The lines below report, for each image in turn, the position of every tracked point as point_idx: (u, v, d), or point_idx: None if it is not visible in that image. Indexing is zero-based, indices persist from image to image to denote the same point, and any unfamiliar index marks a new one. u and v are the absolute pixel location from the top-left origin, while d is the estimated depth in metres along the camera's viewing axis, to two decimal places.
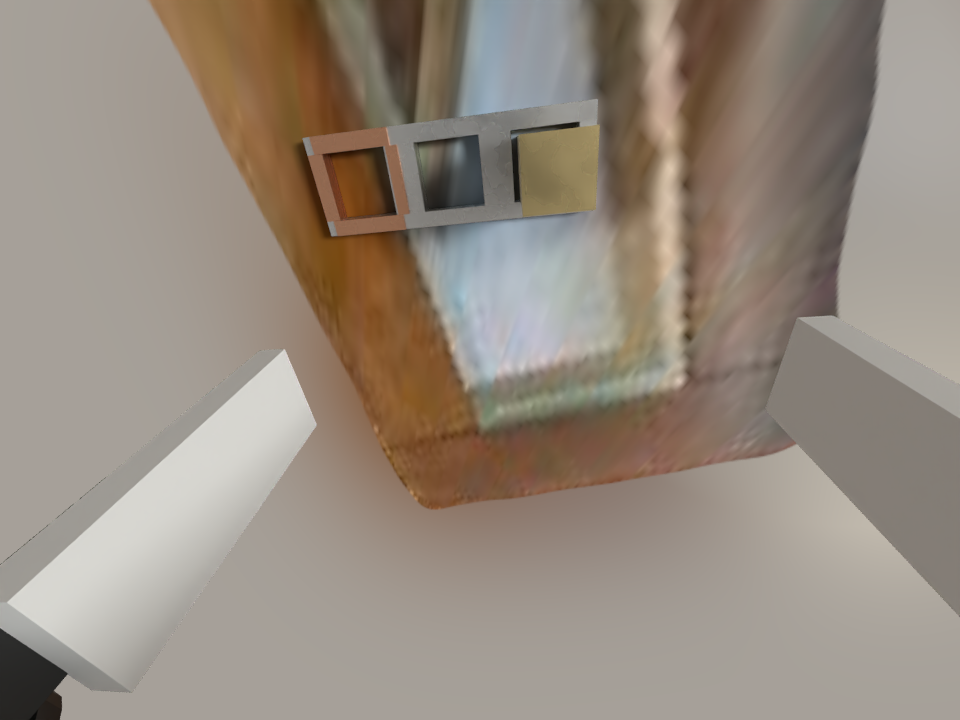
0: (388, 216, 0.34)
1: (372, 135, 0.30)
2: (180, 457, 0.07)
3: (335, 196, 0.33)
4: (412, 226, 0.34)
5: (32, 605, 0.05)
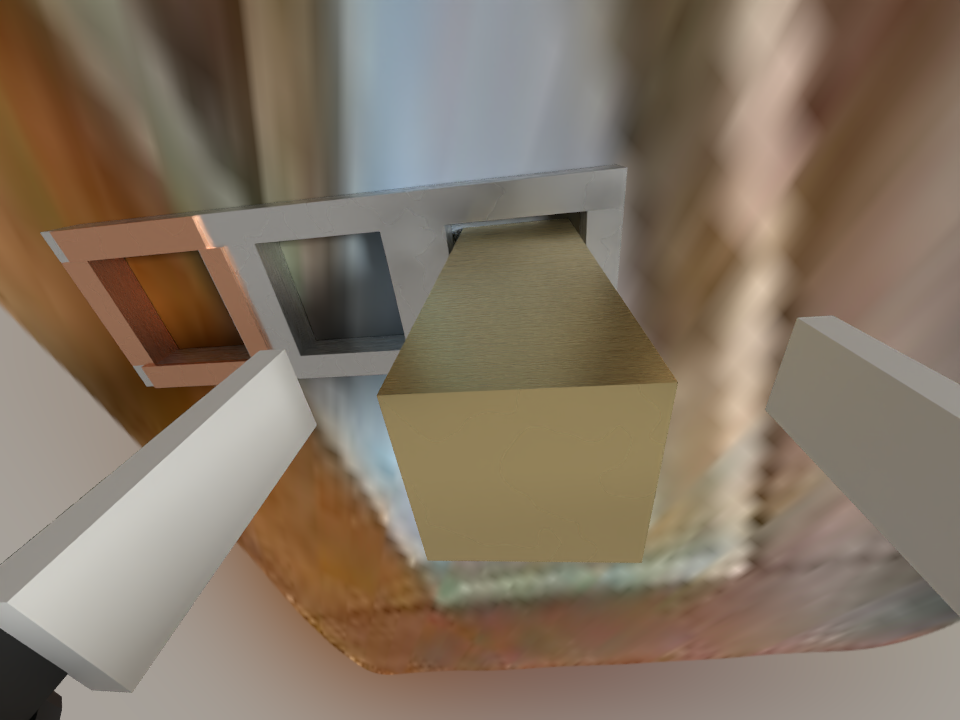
0: (236, 361, 0.18)
1: (170, 231, 0.15)
2: (180, 457, 0.07)
3: (138, 326, 0.18)
4: None
5: (32, 605, 0.05)
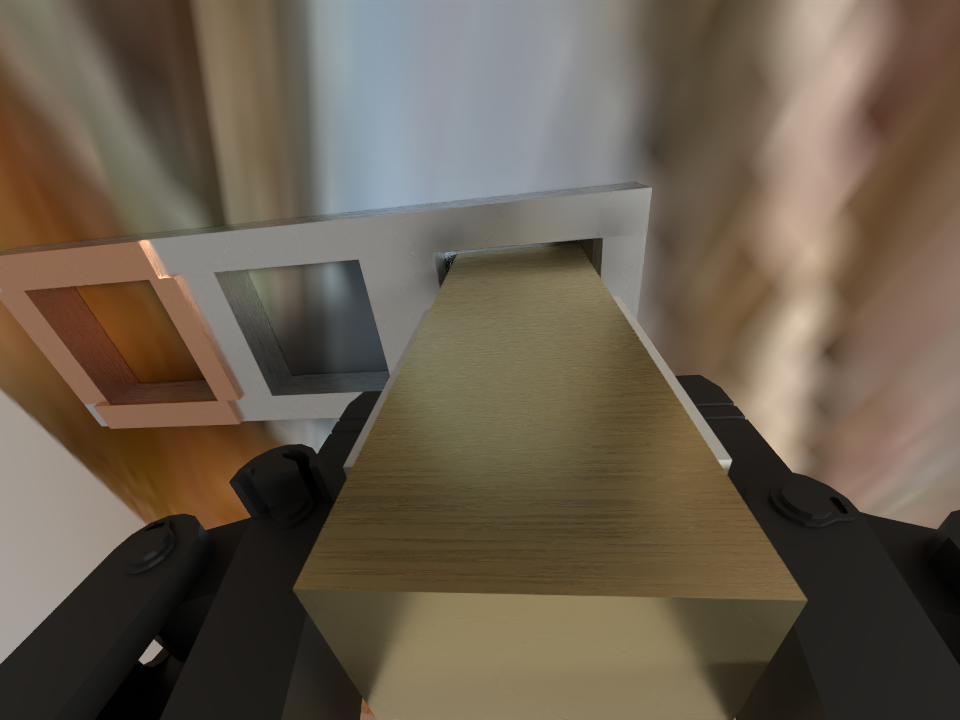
0: (199, 401, 0.16)
1: (114, 258, 0.13)
2: None
3: (89, 361, 0.16)
4: (252, 418, 0.17)
5: None
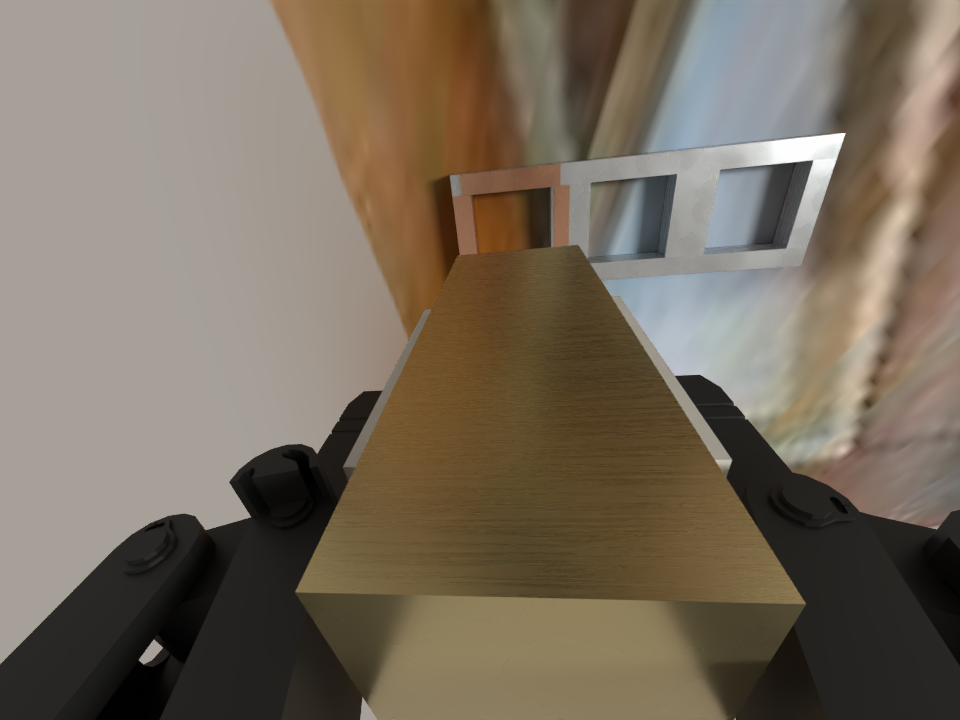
0: None
1: (541, 173, 0.24)
2: None
3: (476, 243, 0.27)
4: None
5: None
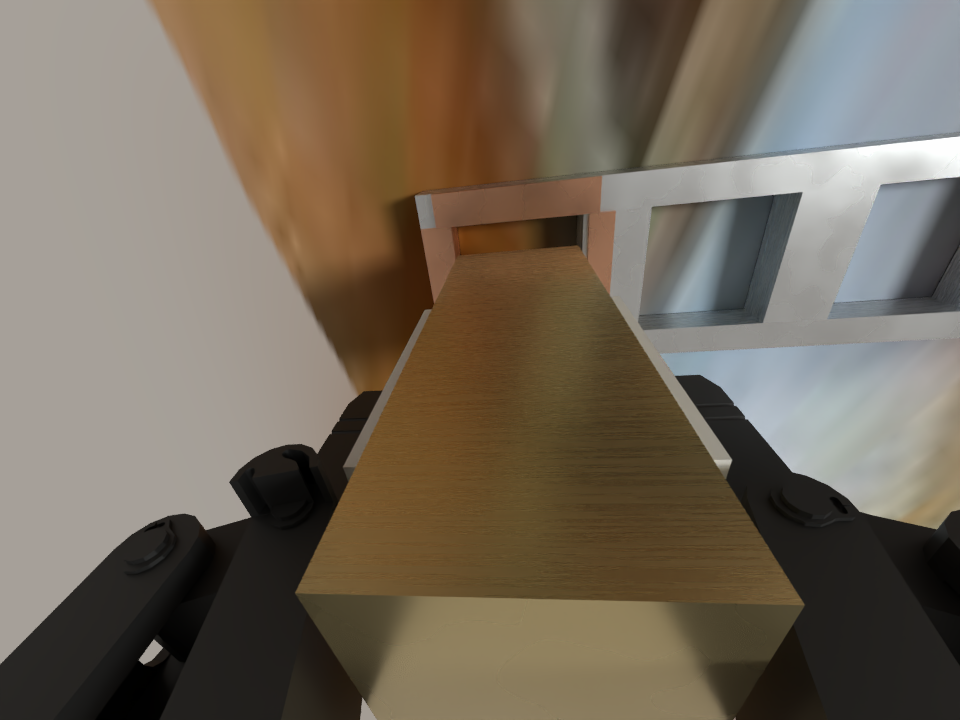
0: None
1: (568, 192, 0.14)
2: None
3: None
4: None
5: None
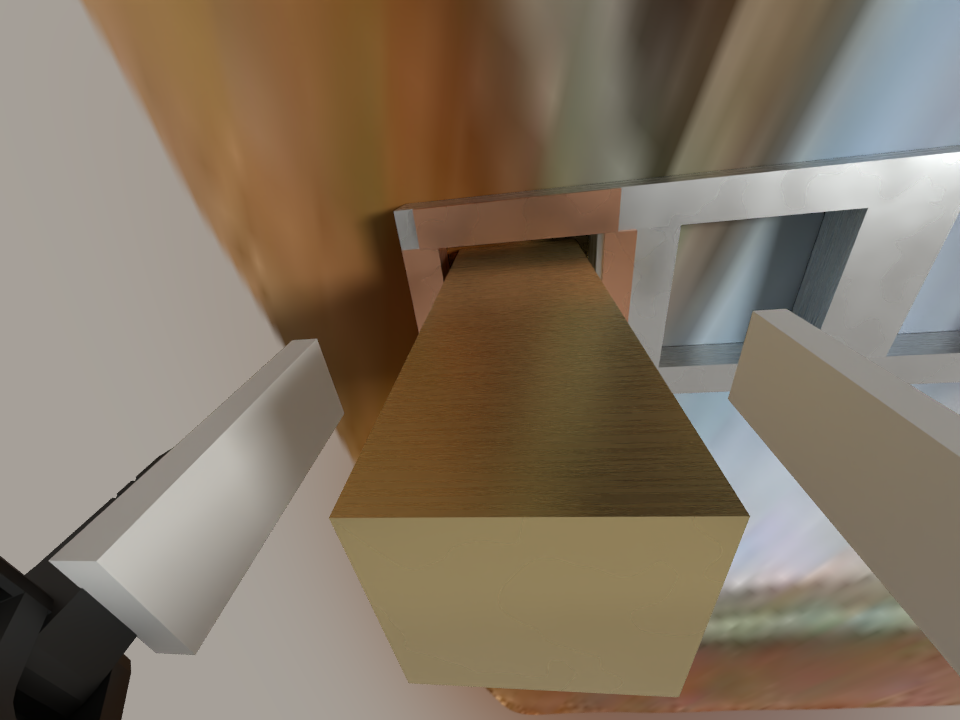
0: None
1: (580, 208, 0.12)
2: (232, 437, 0.07)
3: None
4: None
5: (116, 565, 0.05)
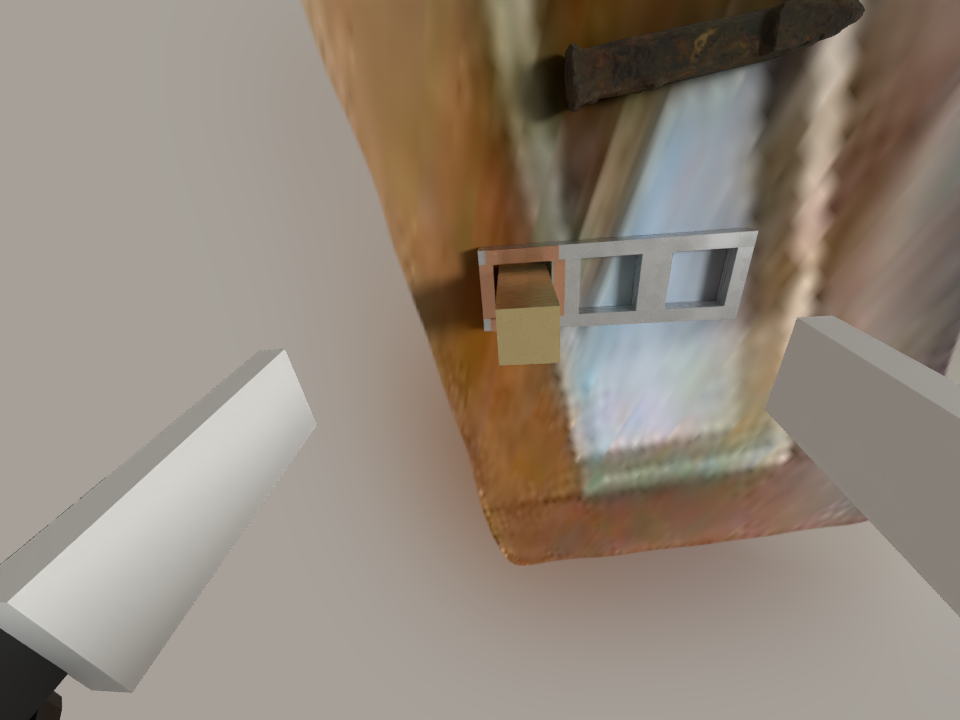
0: None
1: (545, 251, 0.33)
2: (180, 457, 0.07)
3: (495, 297, 0.36)
4: (563, 325, 0.37)
5: (33, 605, 0.05)
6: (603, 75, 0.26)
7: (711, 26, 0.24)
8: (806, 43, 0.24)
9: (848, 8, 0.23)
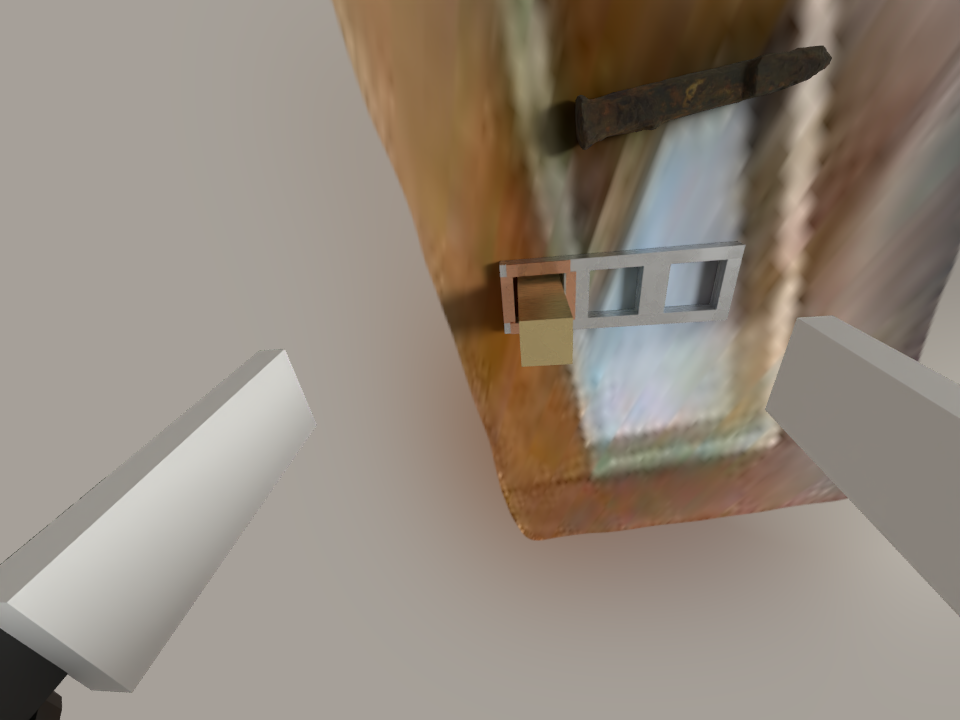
0: None
1: (558, 265, 0.38)
2: (180, 457, 0.07)
3: (514, 304, 0.41)
4: (574, 328, 0.42)
5: (32, 605, 0.05)
6: (609, 121, 0.31)
7: (700, 77, 0.29)
8: (782, 88, 0.28)
9: (816, 59, 0.27)
